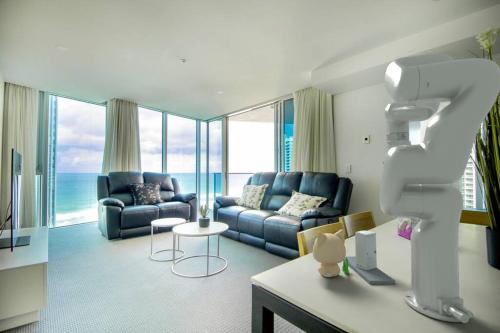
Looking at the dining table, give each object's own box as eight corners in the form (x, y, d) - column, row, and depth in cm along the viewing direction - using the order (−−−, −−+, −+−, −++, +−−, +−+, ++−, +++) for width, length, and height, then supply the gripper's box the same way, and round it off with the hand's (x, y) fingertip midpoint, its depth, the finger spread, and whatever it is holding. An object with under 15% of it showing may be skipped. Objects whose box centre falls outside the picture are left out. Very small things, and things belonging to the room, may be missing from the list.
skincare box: (366, 271, 76) (366, 234, 77) (354, 266, 80) (354, 231, 80) (377, 267, 79) (377, 232, 80) (365, 262, 83) (365, 229, 83)
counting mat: (395, 283, 70) (395, 280, 70) (369, 284, 69) (369, 280, 69) (361, 258, 90) (361, 256, 90) (341, 259, 89) (341, 256, 89)
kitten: (338, 265, 83) (338, 224, 84) (359, 277, 74) (359, 231, 74) (302, 271, 78) (302, 227, 79) (320, 284, 69) (320, 235, 69)
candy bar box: (397, 234, 124) (396, 204, 125) (406, 234, 124) (405, 204, 125) (411, 241, 113) (410, 208, 114) (421, 241, 113) (420, 208, 114)
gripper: (424, 135, 81) (425, 183, 80) (392, 141, 98) (393, 181, 98) (403, 135, 81) (404, 183, 80) (375, 141, 98) (375, 181, 97)
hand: (398, 182), depth 89 cm, fingers open, 9 cm apart
